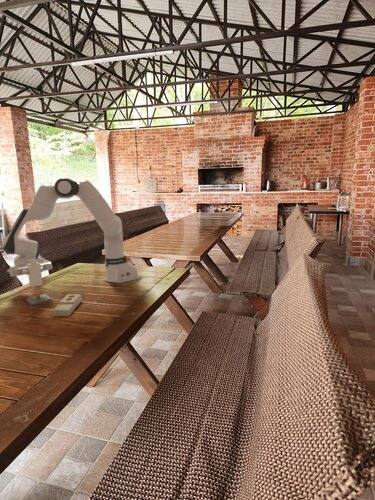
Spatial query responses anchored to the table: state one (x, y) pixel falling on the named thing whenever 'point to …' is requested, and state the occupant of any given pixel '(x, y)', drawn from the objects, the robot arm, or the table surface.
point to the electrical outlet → (67, 305)
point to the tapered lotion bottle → (34, 273)
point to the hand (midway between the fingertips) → (35, 271)
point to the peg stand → (38, 298)
